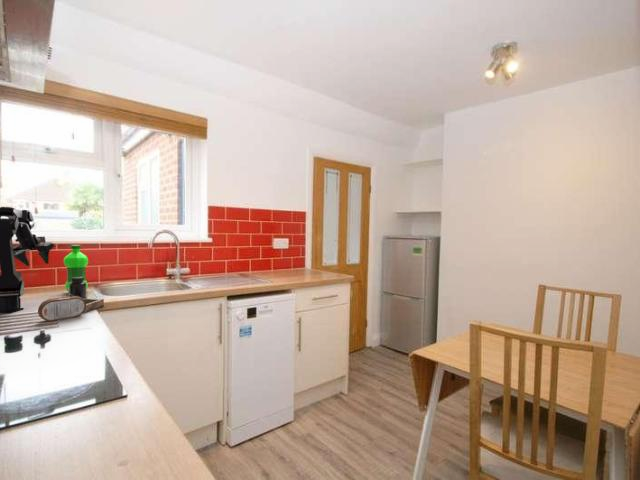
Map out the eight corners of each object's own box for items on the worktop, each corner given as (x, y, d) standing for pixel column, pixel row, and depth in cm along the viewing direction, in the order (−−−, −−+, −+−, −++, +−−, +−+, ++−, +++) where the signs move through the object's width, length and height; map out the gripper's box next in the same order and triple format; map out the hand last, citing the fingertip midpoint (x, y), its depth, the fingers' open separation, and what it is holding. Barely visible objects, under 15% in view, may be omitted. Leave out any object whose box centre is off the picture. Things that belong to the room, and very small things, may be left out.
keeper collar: (82, 313, 138) (82, 306, 138) (54, 312, 139) (54, 305, 139) (103, 305, 151) (103, 299, 150) (77, 304, 151) (77, 298, 151)
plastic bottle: (86, 293, 172) (85, 245, 171) (61, 295, 168) (60, 246, 167) (90, 290, 181) (90, 244, 180) (67, 291, 177) (66, 244, 176)
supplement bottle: (65, 304, 151) (65, 278, 150) (72, 301, 157) (72, 276, 157) (83, 304, 153) (82, 278, 152) (89, 300, 159) (89, 275, 159)
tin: (84, 314, 137) (84, 294, 137) (87, 315, 135) (87, 295, 135) (37, 322, 126) (37, 300, 125) (39, 323, 124) (39, 301, 123)
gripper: (55, 226, 164) (67, 255, 169) (17, 231, 163) (31, 259, 169) (39, 235, 153) (52, 265, 159) (-2, 239, 153) (13, 269, 159)
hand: (37, 264), depth 162 cm, fingers open, 9 cm apart
